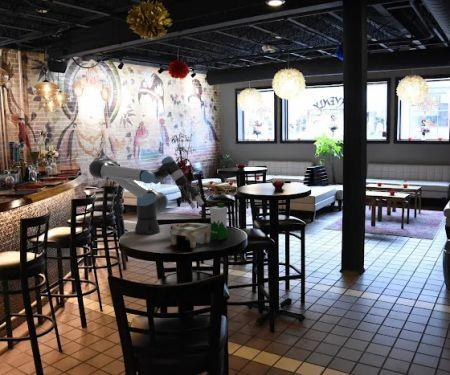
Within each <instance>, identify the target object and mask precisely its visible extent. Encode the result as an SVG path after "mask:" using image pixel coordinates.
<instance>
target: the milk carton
mask: <svg viewBox="0 0 450 375" xmlns="http://www.w3.org/2000/svg"><path fill="white" fill-rule="evenodd" d="M216 205H217V206H216ZM216 205H215V206H211V207H208V208H209V212H210V236H209V239H211V240H212V239H213V240H217V241H222V240H225V239H228V225H227V224H228V219H227V218H228V217H227V215H228V207H227V206H225V203H223V202H218V203H217V204H216Z"/></svg>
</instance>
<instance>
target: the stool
mask: <svg viewBox="0 0 450 375" xmlns="http://www.w3.org/2000/svg"><path fill="white" fill-rule="evenodd" d="M171 228H172V229H169V235H170V241H171V243H170V244H171V245H172V246H175V245H177V236H185V241H189V242H190V244H189V246H190V248H193V249H194V248H196V246H197V244H196V239H197V237H198V236H201V235H204V236H203V237H204V238H203V242H204V243H208V244H209V243H210V233H211V227H209V225H208V224H201V223H200V224H199V223H193V222H192V223H190V222H186V223H183V224H178V225H175V226H173V227H171Z"/></svg>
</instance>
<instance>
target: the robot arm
mask: <svg viewBox="0 0 450 375" xmlns="http://www.w3.org/2000/svg"><path fill="white" fill-rule="evenodd" d="M88 171H89V174H90V175H91V176H92V177H94V178H95V179H106V180H108V182H114V183H116V184H117V185H119V186H120V187H121V188H123V189H125V190H126V191H128V192H129V193H131V194H132V195H133V196H135V197H136V213H137V214H136V215H137V216H136V217H137V221H136V224H135V228H134V233H135V234H137V235H154V234H159V233H160V232H161V230H160V229H161V228H160V225H159V223H158V222H159V221H158V219H157V218H158V216H157V213H159V212H163V211H164V210H166V208H167V207H168V204H169V200H168V197H167V195H166V194H165V193H164V192H158V191H157V190H155V189H154V188H149V187H146V186H145V185H144V184H152V183H153V184H155V185H158V184H159V183H161V182H162V181H163V180H164V179H166V178H167V177H168V176H170V177H171V179H172V180H173V181H174V184H175V185H176V186H177V188H178V190H179V192H180V193H181V196H182V199H183V201H185V202H187V204H189V207H190V208H191V209H192V210H194V209H195V208H196V207H197V206H196V204H195V202H194V201H193V200H192V198H191V197H190V195H189V193H190V194H191V195H192V196H194V199H195V200H196V201H197V203H198V205H199V206H202V205H204V204H205V202H204V201H203V200H202V198H201V197H200V192H199V191H197V190H196V188H195V187H194V186H193V185H192V184H191V183H190V182H187V181H188V178H187V176H186V175H185V174H184V173H183V170H182V169H181V168H180V167H179V165H178V164H177V162H176V161H175V159H174V158H173V157H172V155H168V156H167V155H166V156H165V157H164V158H163V159H162V160H161V165H160V166H159V167H158V168H156V169H152V170H150V169H142V168H133V167H125V166H120V165H119V163H118V161H116V160H115V159H112V158H103V159H95V160H93V161H92V162H91V163H90V165H89V168H88ZM140 182H141V183H140ZM142 183H144V184H142Z"/></svg>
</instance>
